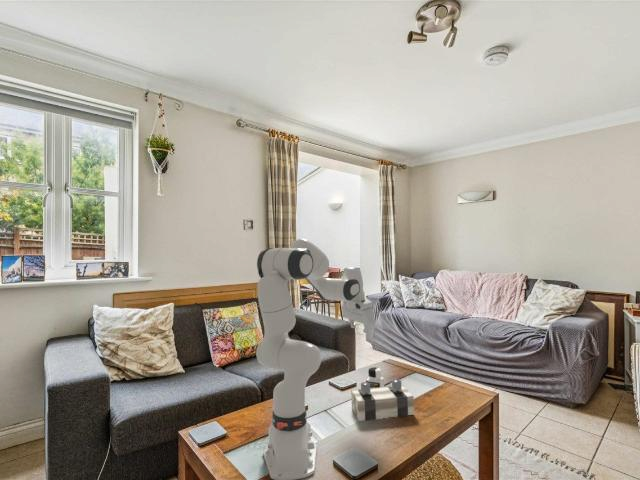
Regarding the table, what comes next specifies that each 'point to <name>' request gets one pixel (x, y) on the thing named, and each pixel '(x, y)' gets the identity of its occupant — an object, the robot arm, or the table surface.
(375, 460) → the table surface
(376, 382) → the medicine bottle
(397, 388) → the peg
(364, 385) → the peg
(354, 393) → the block
